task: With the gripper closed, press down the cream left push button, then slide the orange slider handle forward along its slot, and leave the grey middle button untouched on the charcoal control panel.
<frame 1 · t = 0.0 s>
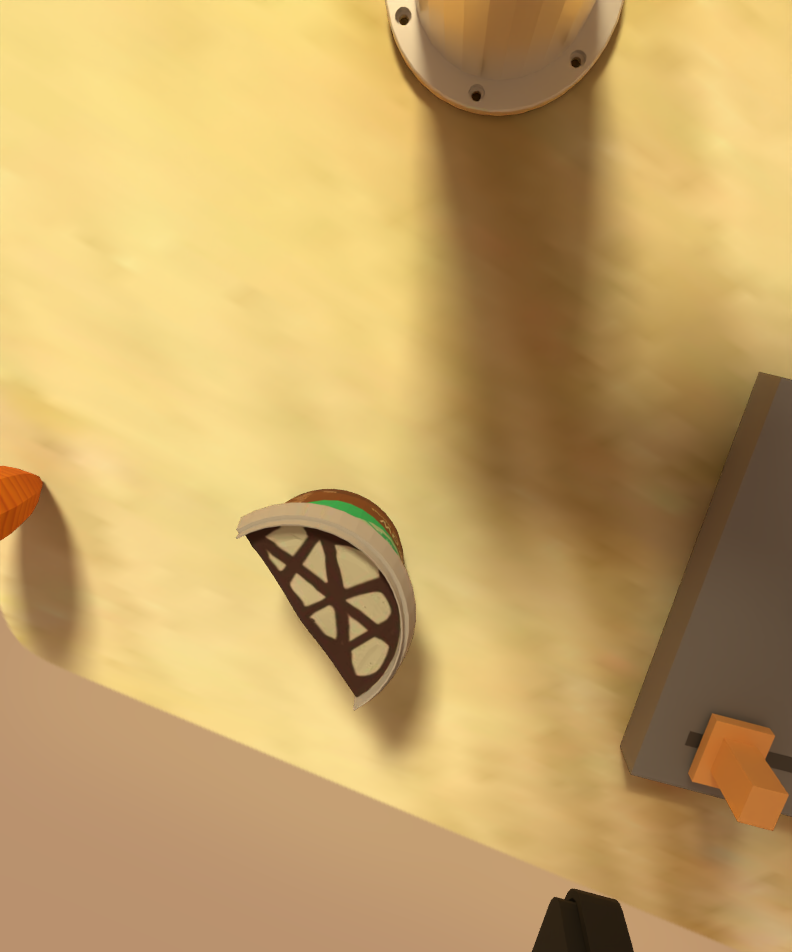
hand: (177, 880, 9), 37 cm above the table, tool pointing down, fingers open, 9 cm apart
orange slider handle: (744, 777, 42), point 6 cm above the table, slide at 0.0 cm
food container: (368, 535, 47), on the table
carrot: (39, 480, 48), on the table
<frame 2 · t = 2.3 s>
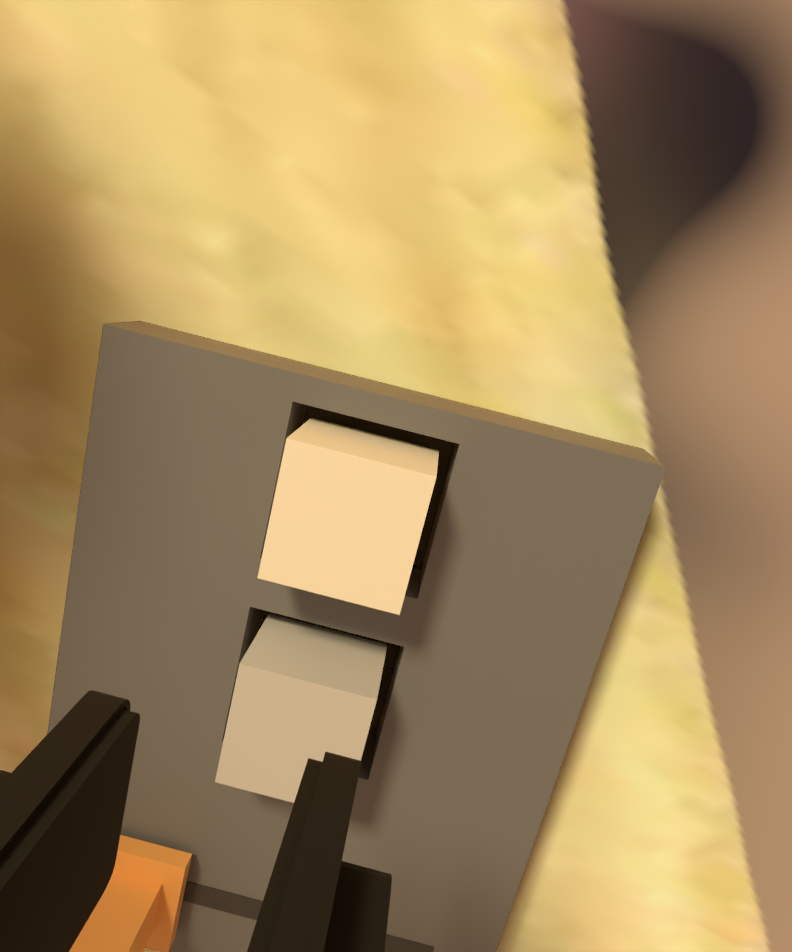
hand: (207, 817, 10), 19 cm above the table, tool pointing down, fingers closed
orange slider handle: (113, 938, 28), point 6 cm above the table, slide at 0.0 cm
cream button: (352, 510, 25), point 4 cm above the table, slide at 0.0 cm
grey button: (305, 709, 27), point 4 cm above the table, slide at 0.0 cm
switch panel: (319, 678, 31), on the table
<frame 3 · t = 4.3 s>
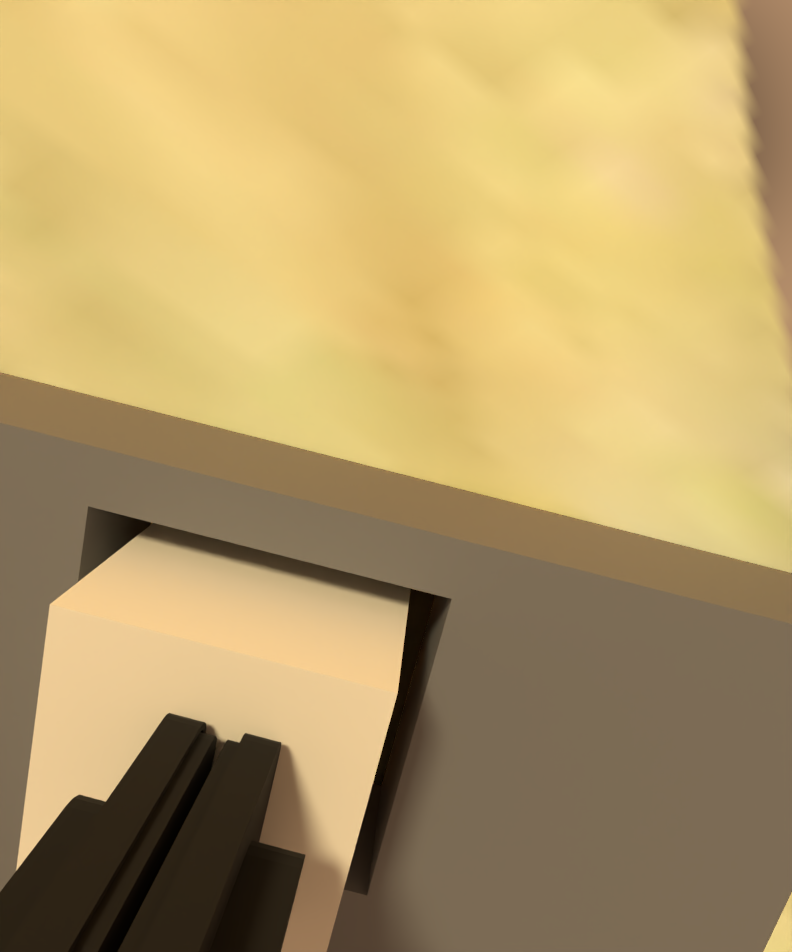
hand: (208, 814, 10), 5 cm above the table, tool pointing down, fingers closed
cream button: (234, 716, 12), point 3 cm above the table, slide at 0.9 cm, touching gripper
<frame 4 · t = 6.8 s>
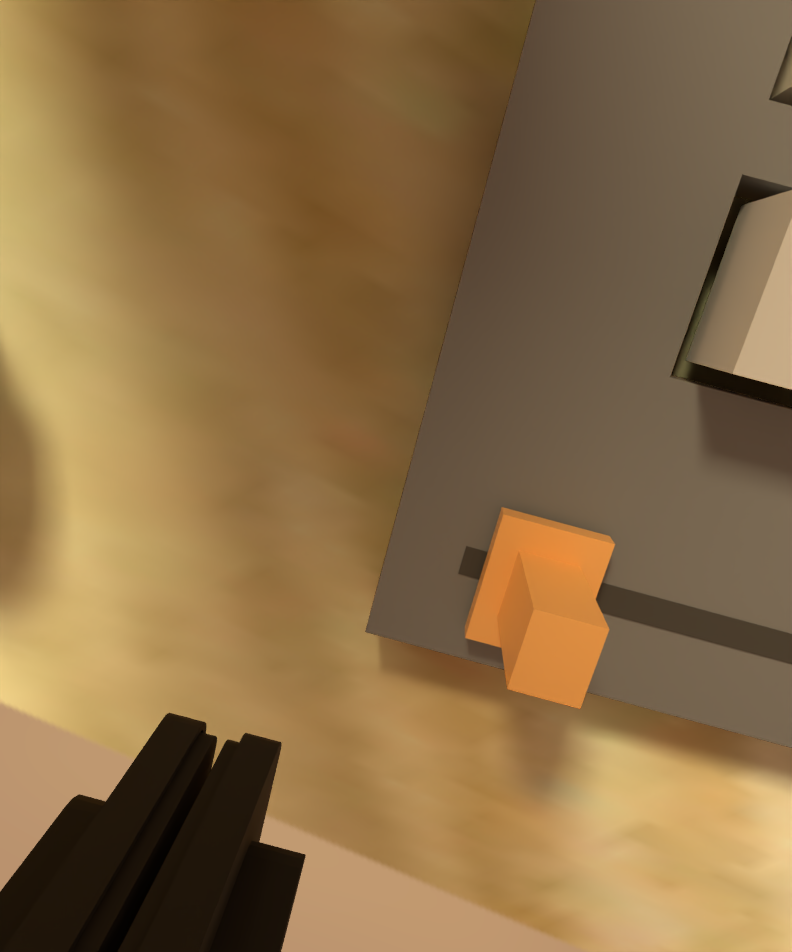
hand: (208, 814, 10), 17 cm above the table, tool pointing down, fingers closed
orange slider handle: (545, 616, 21), point 6 cm above the table, slide at 0.0 cm
switch panel: (750, 333, 25), on the table
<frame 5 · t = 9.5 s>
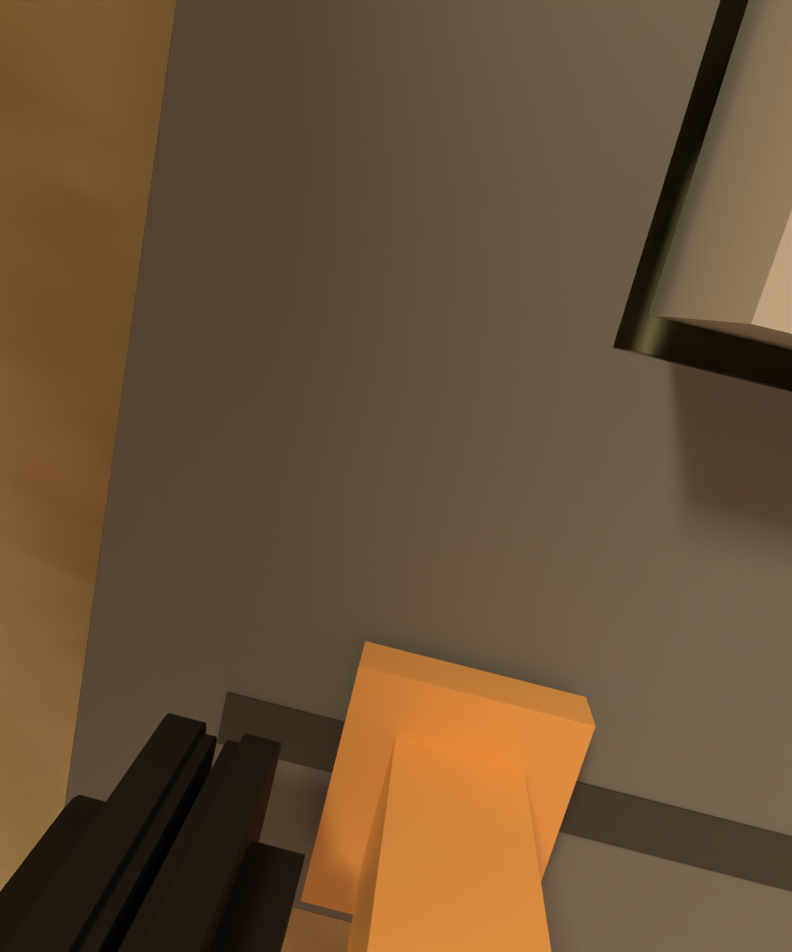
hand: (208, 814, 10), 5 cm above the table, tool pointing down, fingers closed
orange slider handle: (437, 913, 9), point 6 cm above the table, slide at 1.4 cm, touching gripper
switch panel: (776, 265, 13), on the table
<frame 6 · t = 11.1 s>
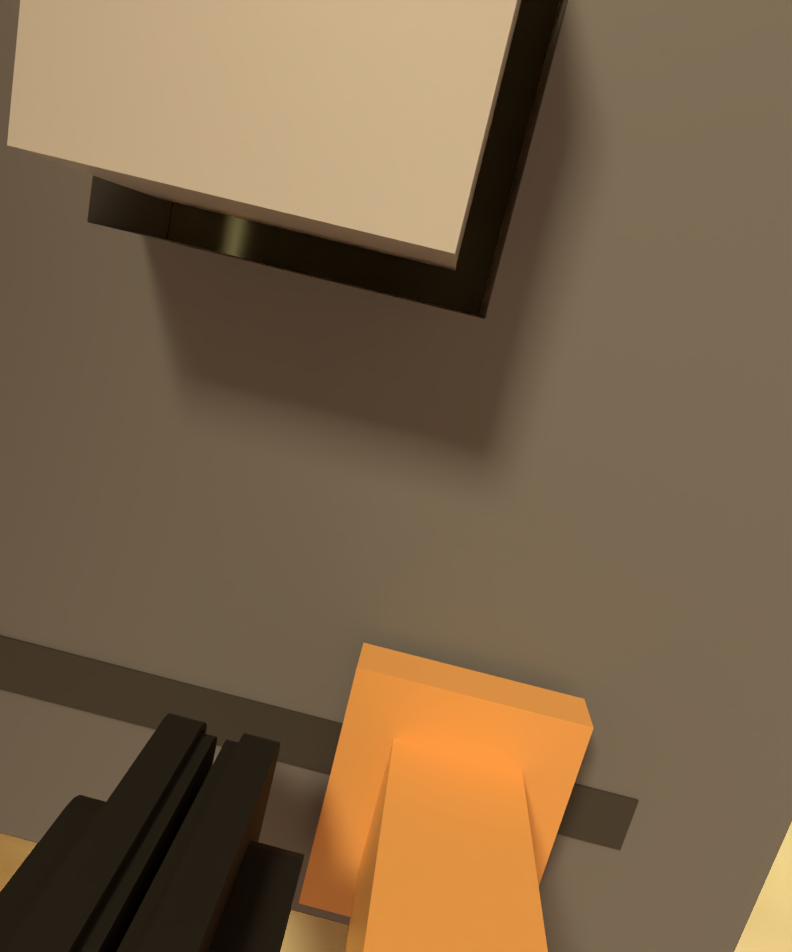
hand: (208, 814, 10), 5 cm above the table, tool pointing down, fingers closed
orange slider handle: (435, 915, 9), point 6 cm above the table, slide at 9.2 cm, touching gripper
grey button: (313, 18, 9), point 4 cm above the table, slide at 0.0 cm
switch panel: (344, 164, 13), on the table
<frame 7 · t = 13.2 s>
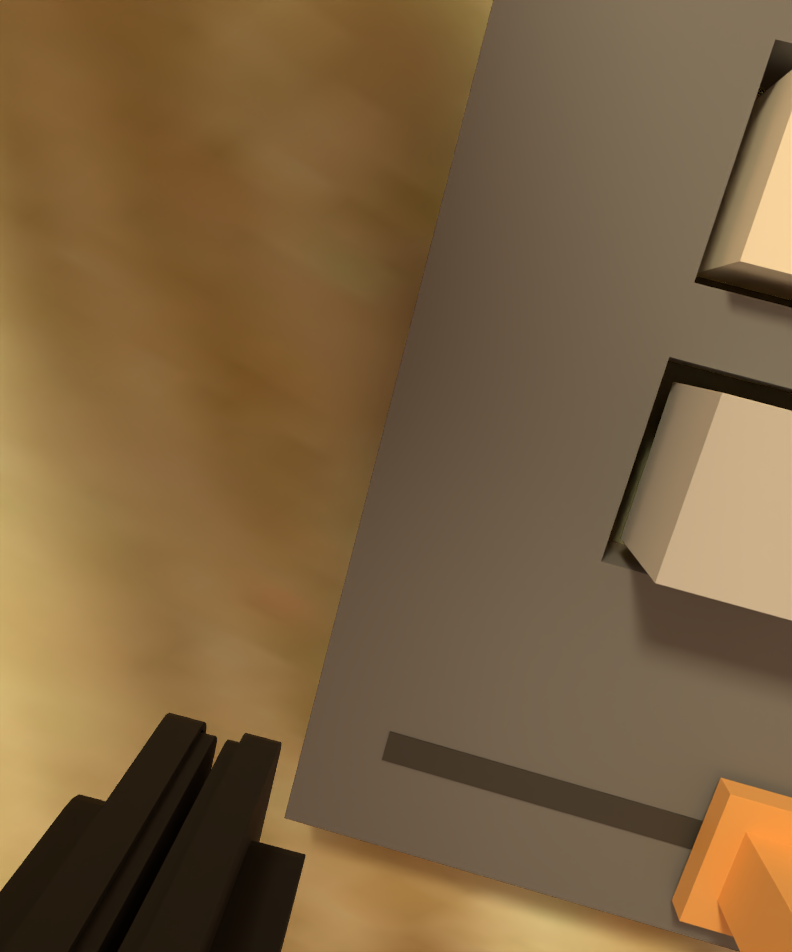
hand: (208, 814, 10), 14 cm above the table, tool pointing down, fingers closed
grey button: (754, 498, 19), point 4 cm above the table, slide at 0.0 cm
switch panel: (694, 500, 23), on the table
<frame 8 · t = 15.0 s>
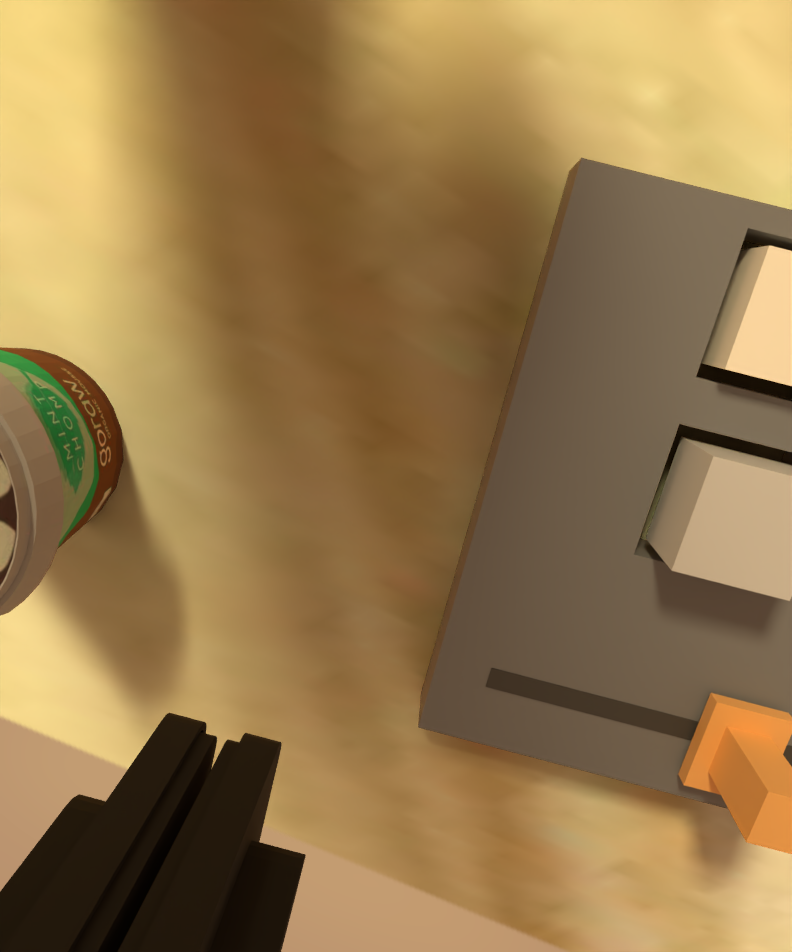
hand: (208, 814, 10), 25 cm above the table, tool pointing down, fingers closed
orange slider handle: (755, 780, 31), point 6 cm above the table, slide at 9.0 cm
food container: (77, 413, 36), on the table
cream button: (784, 322, 30), point 2 cm above the table, slide at 1.9 cm
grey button: (733, 515, 30), point 4 cm above the table, slide at 0.0 cm
switch panel: (693, 510, 34), on the table
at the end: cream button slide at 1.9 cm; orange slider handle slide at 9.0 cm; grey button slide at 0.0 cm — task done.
